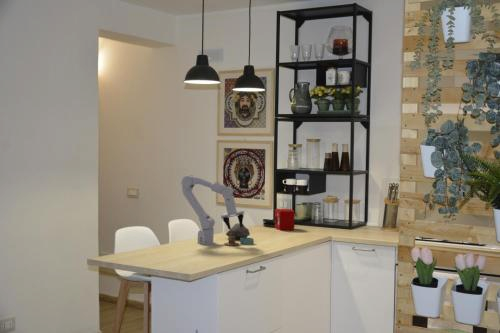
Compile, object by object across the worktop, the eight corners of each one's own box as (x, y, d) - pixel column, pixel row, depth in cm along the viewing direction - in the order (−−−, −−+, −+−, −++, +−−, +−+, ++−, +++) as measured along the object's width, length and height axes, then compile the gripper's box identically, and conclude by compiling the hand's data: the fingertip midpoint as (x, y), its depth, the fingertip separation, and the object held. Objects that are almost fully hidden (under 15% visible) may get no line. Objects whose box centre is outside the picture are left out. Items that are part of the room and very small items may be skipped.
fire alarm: (274, 228, 459) (274, 208, 458) (288, 227, 461) (288, 208, 460) (279, 230, 443) (279, 210, 442) (294, 230, 445) (294, 210, 444)
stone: (255, 221, 396) (241, 223, 384) (256, 237, 396) (243, 240, 383) (233, 223, 407) (219, 225, 394) (234, 239, 406) (220, 241, 394)
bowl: (247, 245, 369) (247, 239, 369) (237, 244, 375) (237, 238, 374) (256, 244, 375) (256, 238, 375) (246, 242, 380) (246, 237, 380)
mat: (232, 247, 362) (232, 246, 362) (220, 245, 368) (220, 244, 368) (243, 245, 369) (243, 245, 369) (231, 243, 376) (231, 243, 376)
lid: (232, 246, 362) (232, 238, 362) (221, 244, 368) (221, 236, 368) (242, 245, 369) (242, 236, 369) (231, 243, 375) (231, 235, 375)
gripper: (217, 209, 370) (222, 231, 369) (239, 204, 366) (244, 226, 365) (221, 208, 377) (226, 229, 376) (243, 203, 372) (248, 225, 372)
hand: (235, 228), depth 371 cm, fingers open, 7 cm apart
